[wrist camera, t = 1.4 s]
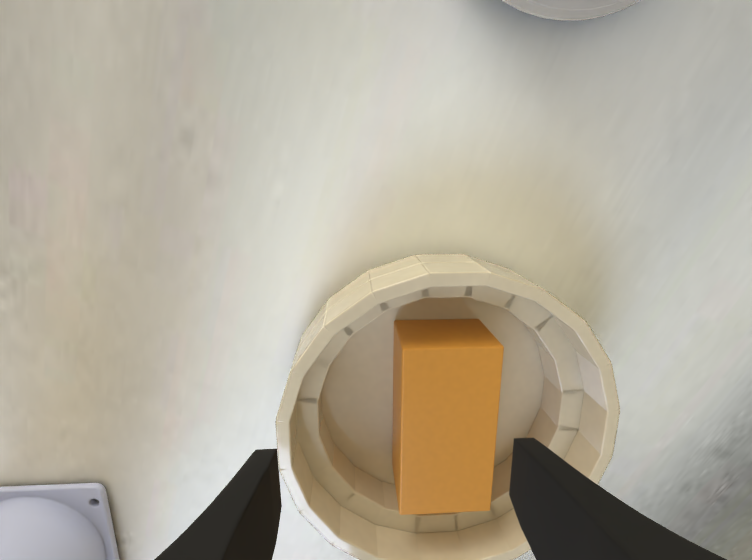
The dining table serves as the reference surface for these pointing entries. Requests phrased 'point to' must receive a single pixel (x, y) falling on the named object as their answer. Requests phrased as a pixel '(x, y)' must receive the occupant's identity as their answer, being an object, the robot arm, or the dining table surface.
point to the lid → (570, 8)
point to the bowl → (375, 405)
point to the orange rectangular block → (444, 414)
